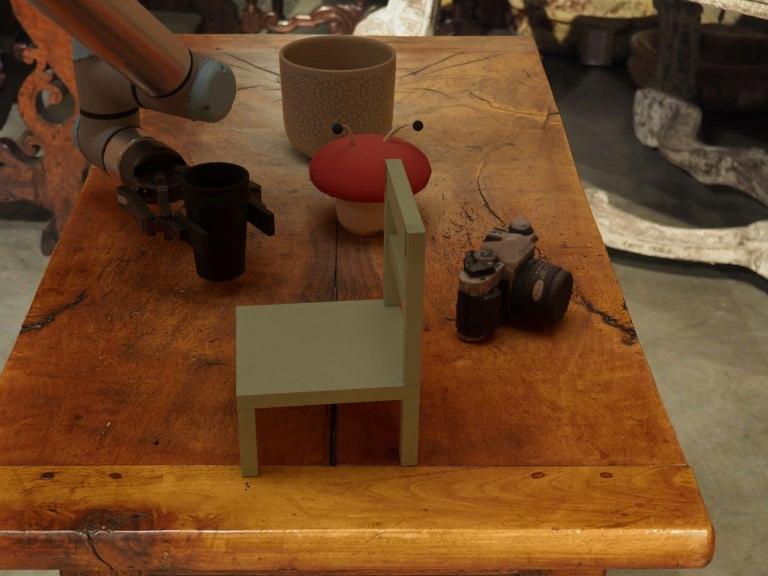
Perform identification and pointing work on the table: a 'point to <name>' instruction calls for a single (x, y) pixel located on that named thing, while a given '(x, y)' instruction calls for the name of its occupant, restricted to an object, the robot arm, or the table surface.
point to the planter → (336, 88)
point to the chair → (342, 339)
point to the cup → (218, 216)
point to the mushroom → (365, 175)
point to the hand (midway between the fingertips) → (239, 234)
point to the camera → (509, 283)
